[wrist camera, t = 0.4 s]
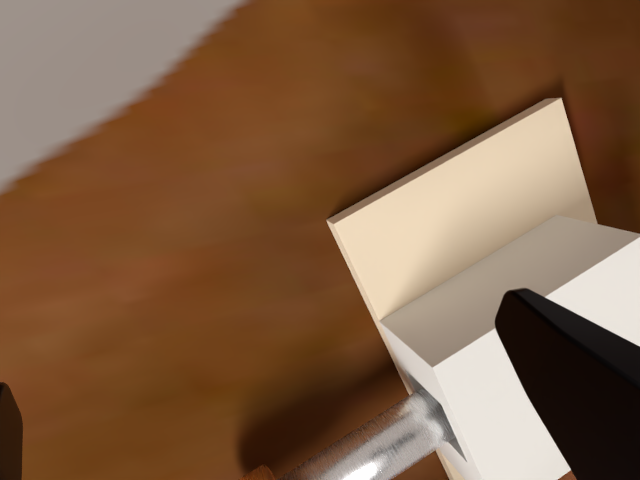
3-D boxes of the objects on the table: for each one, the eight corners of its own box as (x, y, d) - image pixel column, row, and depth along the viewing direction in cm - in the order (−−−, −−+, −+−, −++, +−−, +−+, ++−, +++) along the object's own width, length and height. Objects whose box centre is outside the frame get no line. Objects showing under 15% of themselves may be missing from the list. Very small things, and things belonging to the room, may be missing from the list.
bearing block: (633, 390, 31) (735, 448, 25) (463, 508, 29) (535, 597, 23) (546, 98, 25) (655, 92, 20) (326, 220, 23) (379, 250, 18)
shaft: (496, 379, 26) (553, 423, 22) (246, 541, 24) (264, 620, 20) (469, 313, 25) (526, 347, 21) (203, 478, 22) (213, 549, 19)
